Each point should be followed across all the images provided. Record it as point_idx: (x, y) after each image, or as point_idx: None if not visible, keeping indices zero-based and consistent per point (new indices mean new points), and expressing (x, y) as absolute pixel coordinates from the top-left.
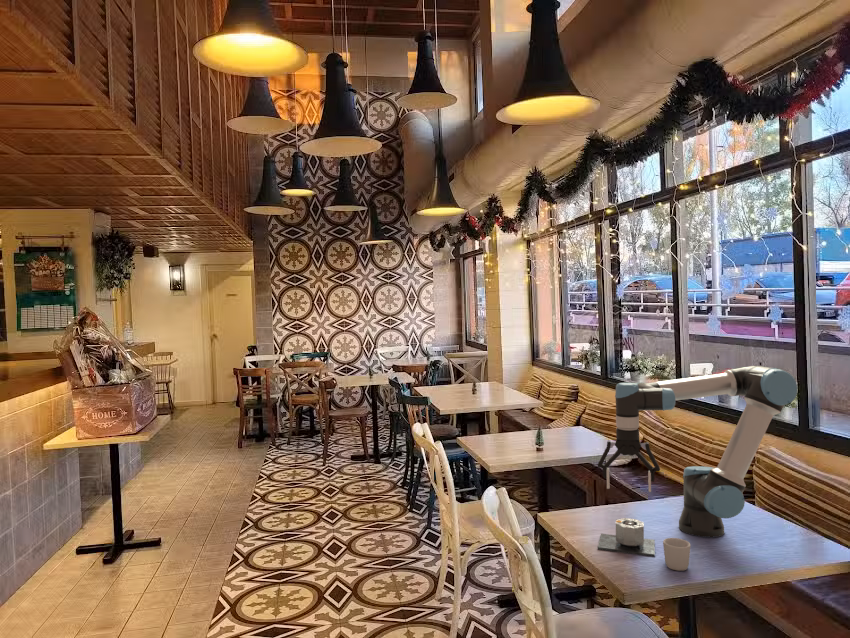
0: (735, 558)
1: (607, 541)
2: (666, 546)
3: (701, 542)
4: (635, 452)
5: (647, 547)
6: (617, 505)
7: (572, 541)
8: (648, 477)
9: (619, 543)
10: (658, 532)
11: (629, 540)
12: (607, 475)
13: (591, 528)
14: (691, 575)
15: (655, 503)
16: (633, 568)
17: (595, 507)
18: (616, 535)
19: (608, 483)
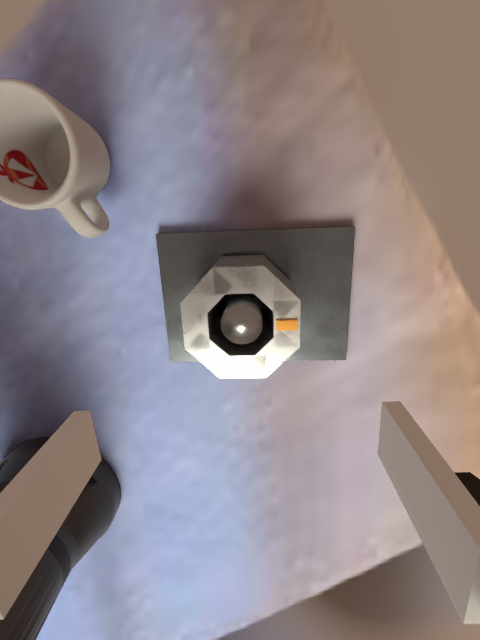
0: None
1: (321, 294)
2: (59, 103)
3: (46, 400)
4: None
5: (185, 287)
6: (301, 594)
7: (447, 271)
8: (15, 502)
9: None
10: (170, 436)
11: (240, 257)
12: (455, 488)
13: (377, 408)
14: None
15: (200, 626)
16: (216, 88)
17: (365, 568)
18: (291, 285)
19: (405, 428)
